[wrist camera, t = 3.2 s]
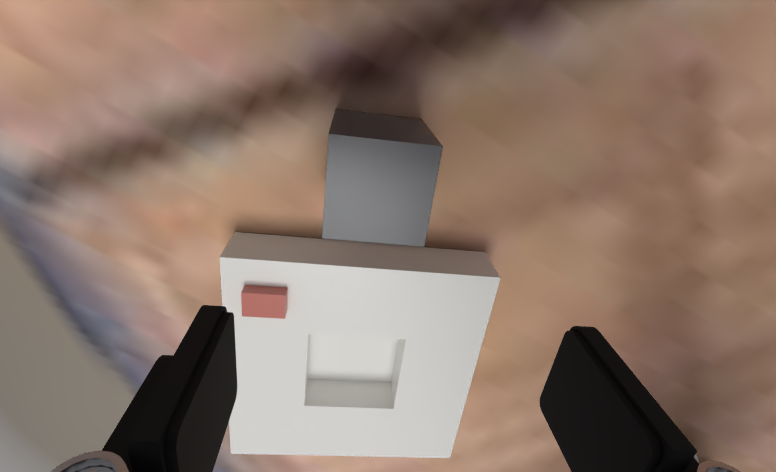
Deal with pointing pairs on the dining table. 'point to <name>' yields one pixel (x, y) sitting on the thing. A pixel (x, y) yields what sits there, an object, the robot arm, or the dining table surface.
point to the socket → (352, 344)
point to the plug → (379, 178)
